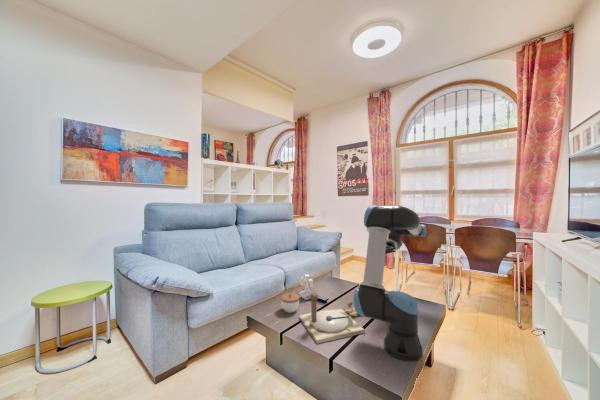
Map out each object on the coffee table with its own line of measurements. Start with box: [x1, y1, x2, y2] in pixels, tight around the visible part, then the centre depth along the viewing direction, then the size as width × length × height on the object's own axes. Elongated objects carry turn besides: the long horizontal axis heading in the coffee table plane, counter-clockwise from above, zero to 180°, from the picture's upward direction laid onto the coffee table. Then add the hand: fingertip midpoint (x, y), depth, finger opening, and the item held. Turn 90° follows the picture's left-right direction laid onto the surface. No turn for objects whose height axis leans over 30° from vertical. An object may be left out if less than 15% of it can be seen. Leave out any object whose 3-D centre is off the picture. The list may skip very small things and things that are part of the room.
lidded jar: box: [280, 292, 300, 314], centre depth 138 cm, size 11×11×9 cm
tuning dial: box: [309, 292, 350, 332], centre depth 122 cm, size 21×19×15 cm
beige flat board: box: [298, 307, 366, 344], centre depth 122 cm, size 24×25×2 cm
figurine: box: [299, 273, 315, 301], centre depth 154 cm, size 7×9×15 cm
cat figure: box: [345, 301, 358, 319], centre depth 135 cm, size 10×9×25 cm
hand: (374, 253), depth 130 cm, fingers closed
